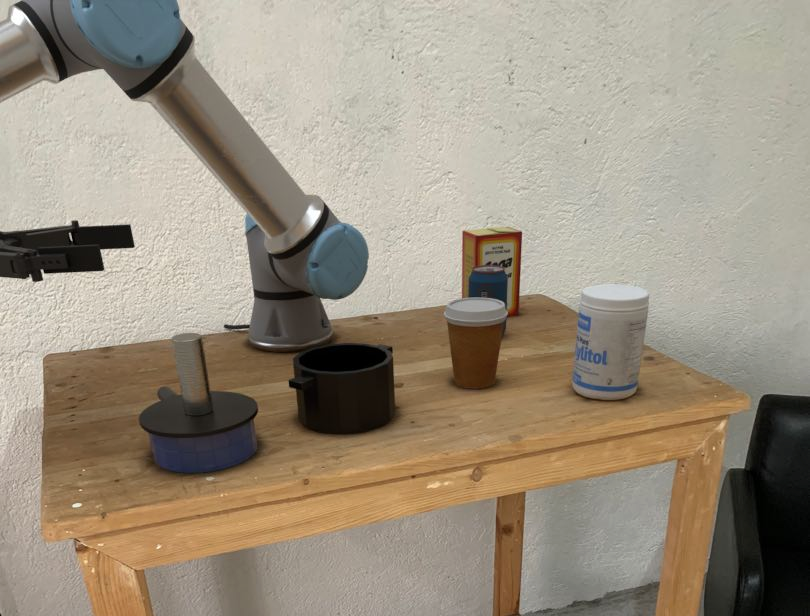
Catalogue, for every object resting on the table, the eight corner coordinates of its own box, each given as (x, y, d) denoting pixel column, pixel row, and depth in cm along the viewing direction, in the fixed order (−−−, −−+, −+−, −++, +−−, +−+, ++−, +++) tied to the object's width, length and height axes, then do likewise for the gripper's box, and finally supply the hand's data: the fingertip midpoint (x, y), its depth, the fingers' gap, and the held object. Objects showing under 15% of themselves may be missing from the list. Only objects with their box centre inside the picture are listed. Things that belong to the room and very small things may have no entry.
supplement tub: (559, 393, 119) (566, 293, 111) (591, 376, 125) (599, 280, 117) (619, 407, 113) (631, 302, 106) (649, 388, 119) (662, 288, 112)
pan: (141, 446, 106) (133, 411, 103) (234, 424, 112) (229, 390, 109) (173, 482, 96) (165, 444, 93) (273, 455, 102) (268, 419, 99)
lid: (116, 426, 101) (97, 342, 95) (207, 392, 111) (194, 314, 105) (192, 452, 93) (176, 363, 87) (282, 413, 103) (273, 331, 97)
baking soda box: (474, 320, 155) (475, 233, 147) (461, 312, 160) (462, 228, 152) (518, 315, 158) (522, 229, 150) (504, 307, 163) (507, 224, 155)
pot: (265, 426, 111) (257, 367, 106) (354, 387, 123) (350, 333, 119) (338, 449, 103) (333, 386, 99) (424, 405, 116) (423, 347, 112)
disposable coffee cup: (502, 393, 119) (504, 313, 113) (439, 391, 121) (438, 311, 115) (507, 373, 127) (510, 297, 121) (449, 371, 129) (449, 295, 123)
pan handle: (156, 400, 114) (153, 386, 113) (171, 397, 115) (169, 382, 114) (180, 422, 106) (177, 406, 105) (195, 418, 107) (193, 403, 106)
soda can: (496, 329, 149) (498, 262, 143) (512, 338, 144) (514, 269, 138) (462, 333, 148) (462, 266, 142) (476, 343, 142) (477, 273, 136)
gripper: (-133, 240, 81) (76, 230, 81) (-29, 205, 103) (136, 197, 103) (-106, 314, 85) (93, 304, 85) (-11, 265, 106) (148, 258, 107)
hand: (117, 246), depth 94 cm, fingers open, 13 cm apart
